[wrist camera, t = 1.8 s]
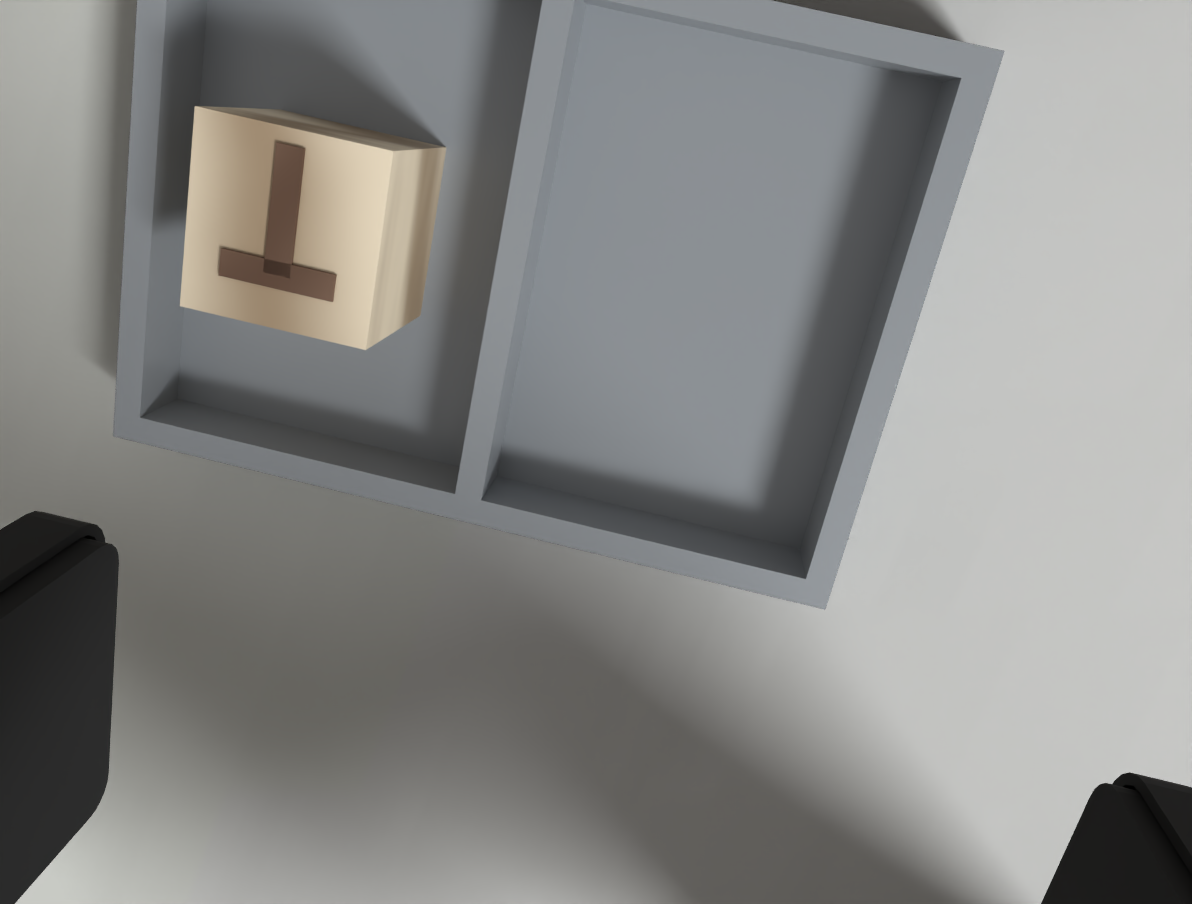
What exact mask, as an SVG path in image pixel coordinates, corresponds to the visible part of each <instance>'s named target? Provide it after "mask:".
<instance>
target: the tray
mask: <svg viewBox="0 0 1192 904" xmlns="http://www.w3.org/2000/svg"><path fill="white" fill-rule="evenodd" d="M1003 54H1004V51H1003V50H998V49H993V48H989V47H984V46H980V45H975V44H970V43H966V42H961V41H957V40H952V39H947V38H943V37H938V36H934V35H929V34H924V33H920V32H915V31H911V30H906V29H901V28H897V27H892V26H888V25H883V24H878V23H874V22H869V21H865V20H860V19H855V18H851V17H846V16H842V15H837V14H832V13H828V12H823V11H819V10H814V9H809V8H805V7H800V6H796V5H791V4H786V3H782V2H777V1H773V0H137V13H136V31H135V49H134V67H133V85H132V104H131V122H130V140H129V158H128V176H127V194H126V213H125V231H124V249H123V267H122V285H121V303H120V321H119V340H118V358H117V376H116V394H115V412H114V430H113V436H114V437H118V438H122V439H126V440H130V441H135V442H139V443H143V444H147V445H151V446H155V447H159V448H163V449H167V450H171V451H176V452H180V453H184V454H188V455H192V456H196V457H200V458H204V459H208V460H213V461H217V462H221V463H225V464H229V465H233V466H237V467H241V468H245V469H250V470H254V471H258V472H262V473H266V474H270V475H274V476H278V477H282V478H286V479H291V480H295V481H299V482H303V483H307V484H311V485H315V486H319V487H323V488H328V489H332V490H336V491H340V492H344V493H348V494H352V495H356V496H360V497H365V498H369V499H373V500H377V501H381V502H385V503H389V504H393V505H397V506H401V507H406V508H410V509H414V510H418V511H422V512H426V513H430V514H434V515H438V516H443V517H447V518H451V519H455V520H459V521H463V522H467V523H471V524H475V525H479V526H484V527H488V528H492V529H496V530H500V531H504V532H508V533H512V534H516V535H521V536H525V537H529V538H533V539H537V540H541V541H545V542H549V543H553V544H558V545H562V546H566V547H570V548H574V549H578V550H582V551H586V552H590V553H594V554H599V555H603V556H607V557H611V558H615V559H619V560H623V561H627V562H631V563H636V564H640V565H644V566H648V567H652V568H656V569H660V570H664V571H668V572H673V573H677V574H681V575H685V576H689V577H693V578H697V579H701V580H705V581H709V582H714V583H718V584H722V585H726V586H730V587H734V588H738V589H742V590H746V591H751V592H755V593H759V594H763V595H767V596H771V597H775V598H779V599H783V600H788V601H792V602H796V603H800V604H804V605H808V606H812V607H816V608H820V609H824V610H825V609H826V606H827V603H828V600H829V596H830V593H831V590H832V587H833V584H834V581H835V578H836V575H837V571H838V568H839V565H840V562H841V559H842V556H843V553H844V550H845V547H846V543H847V540H848V537H849V534H850V531H851V528H852V525H853V522H854V519H855V515H856V512H857V509H858V506H859V503H860V500H861V497H862V494H863V490H864V487H865V484H866V481H867V478H868V475H869V472H870V469H871V466H872V462H873V459H874V456H875V453H876V450H877V447H878V444H879V441H880V438H881V434H882V431H883V428H884V425H885V422H886V419H887V416H888V413H889V409H890V406H891V403H892V400H893V397H894V394H895V391H896V388H897V385H898V381H899V378H900V375H901V372H902V369H903V366H904V363H905V360H906V357H907V353H908V350H909V347H910V344H911V341H912V338H913V335H914V332H915V328H916V325H917V322H918V319H919V316H920V313H921V310H922V307H923V304H924V300H925V297H926V294H927V291H928V288H929V285H930V282H931V279H932V276H933V272H934V269H935V266H936V263H937V260H938V257H939V254H940V251H941V247H942V244H943V241H944V238H945V235H946V232H947V229H948V226H949V223H950V219H951V216H952V213H953V210H954V207H955V204H956V201H957V198H958V194H959V191H960V188H961V185H962V182H963V179H964V176H965V173H966V170H967V166H968V163H969V160H970V157H971V154H972V151H973V148H974V145H975V142H976V138H977V135H978V132H979V129H980V126H981V123H982V120H983V117H984V113H985V110H986V107H987V104H988V101H989V98H990V95H991V92H992V89H993V85H994V82H995V79H996V76H997V73H998V70H999V67H1000V64H1001V61H1002V57H1003ZM195 106H209V107H233V108H258V109H280V110H285V111H289V112H293V113H298V114H302V115H307V116H311V117H315V118H320V119H324V120H329V121H333V122H337V123H342V124H346V125H351V126H355V127H360V128H364V129H368V130H373V131H377V132H382V133H386V134H390V135H395V136H399V137H404V138H408V139H412V140H417V141H421V142H426V143H430V144H434V145H439V146H443V147H446V154H445V160H444V167H443V173H442V180H441V186H440V192H439V199H438V205H437V212H436V218H435V225H434V231H433V238H432V244H431V251H430V257H429V263H428V270H427V276H426V283H425V289H424V296H423V302H422V309H421V315H420V316H419V317H417V318H416V319H414V320H413V321H411V322H410V323H408V324H406V325H405V326H403V327H402V328H400V329H398V330H397V331H395V332H394V333H392V334H391V335H389V336H387V337H386V338H384V339H383V340H381V341H380V342H378V343H376V344H375V345H373V346H372V347H370V348H368V349H367V350H363V349H359V348H355V347H350V346H346V345H342V344H338V343H334V342H329V341H325V340H321V339H317V338H312V337H308V336H304V335H300V334H296V333H291V332H287V331H283V330H279V329H274V328H270V327H266V326H262V325H258V324H253V323H249V322H245V321H241V320H236V319H232V318H228V317H224V316H220V315H215V314H211V313H207V312H203V311H198V310H194V309H190V308H186V307H182V306H180V297H181V283H182V270H183V257H184V243H185V230H186V216H187V203H188V190H189V176H190V163H191V150H192V136H193V123H194V109H195Z"/></svg>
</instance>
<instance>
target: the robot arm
mask: <svg viewBox="0 0 1192 904" xmlns="http://www.w3.org/2000/svg"><path fill="white" fill-rule="evenodd" d="M118 567H119V559H118V552H117V549H116V548H115V547H114V546H113V545H112V544H108V543H105V538H104V535H103V532H102V530H101V529H100V528H99V527H98V526H97V525H95V524H90V523H86V522H82V521H78V520H74V519H70V518H65V517H61V516H57V515H53V514H49V513H45V512H38V511H34V512H31V513H28V514H26V515H24V516H23V517H21V518H19V519H17V520H16V521H14V522H12V523H11V524H9V525H7V526H6V527H4V528H2V529H1V530H0V904H15V903H16V901H17V900H18V899H19V898H20V897H21V896H22V895H23V893H24V892H25V891H26V890H27V889H28V888H29V887H30V885H31V884H32V883H33V882H34V881H35V880H36V879H37V877H38V876H39V875H40V874H41V873H42V872H43V871H44V870H45V868H46V867H47V866H48V865H49V864H50V863H51V862H52V860H53V859H54V858H55V857H56V856H57V855H58V854H59V852H60V851H61V850H62V849H63V848H64V847H65V846H66V844H67V843H68V842H69V841H70V840H71V839H72V838H73V836H74V835H75V834H76V833H77V832H78V831H79V830H80V828H81V827H82V826H83V825H84V824H85V823H86V822H87V820H88V819H89V818H90V817H91V815H92V814H93V813H94V811H95V810H96V808H97V806H98V805H99V803H100V801H101V799H102V796H103V794H104V791H105V788H106V785H107V780H108V773H109V752H110V731H111V711H112V690H113V670H114V649H115V629H116V608H117V588H118ZM1041 904H1192V788H1191V787H1188V786H1184V785H1180V784H1176V783H1172V782H1167V781H1163V780H1159V779H1155V778H1151V777H1147V776H1142V775H1138V774H1134V773H1126V774H1122V775H1121V776H1119V777H1118V778H1117V779H1116V780H1115V781H1114V783H1113V784H1108V783H1104V784H1100V785H1099V786H1098V787H1097V788H1095V789H1094V791H1093V793H1092V794H1091V796H1090V798H1089V800H1088V802H1087V805H1086V807H1085V809H1084V811H1083V813H1082V816H1081V818H1080V820H1079V822H1078V824H1077V826H1076V829H1075V831H1074V833H1073V835H1072V837H1071V840H1070V842H1069V844H1068V846H1067V848H1066V850H1065V853H1064V855H1063V857H1062V859H1061V861H1060V864H1059V866H1058V868H1057V870H1056V872H1055V875H1054V877H1053V879H1052V881H1051V883H1050V885H1049V888H1048V890H1047V892H1046V894H1045V896H1044V899H1043V901H1042V903H1041Z"/></svg>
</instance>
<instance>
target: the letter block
mask: <svg viewBox="0 0 1192 904" xmlns="http://www.w3.org/2000/svg"><path fill="white" fill-rule="evenodd" d="M445 154H446V147H443V146H439V145H434V144H430V143H426V142H421V141H417V140H412V139H408V138H404V137H399V136H395V135H390V134H386V133H382V132H377V131H373V130H368V129H364V128H360V127H355V126H351V125H346V124H342V123H337V122H333V121H329V120H324V119H320V118H315V117H311V116H307V115H302V114H298V113H293V112H289V111H285V110H280V109H258V108H233V107H209V106H195V109H194V123H193V136H192V150H191V163H190V176H189V190H188V203H187V216H186V230H185V243H184V257H183V270H182V283H181V297H180V306H182V307H186V308H190V309H194V310H198V311H203V312H207V313H211V314H215V315H220V316H224V317H228V318H232V319H236V320H241V321H245V322H249V323H253V324H258V325H262V326H266V327H270V328H274V329H279V330H283V331H287V332H291V333H296V334H300V335H304V336H308V337H312V338H317V339H321V340H325V341H329V342H334V343H338V344H342V345H346V346H350V347H355V348H359V349H363V350H367V349H368V348H370V347H372V346H373V345H375V344H376V343H378V342H380V341H381V340H383V339H384V338H386V337H387V336H389V335H391V334H392V333H394V332H395V331H397V330H398V329H400V328H402V327H403V326H405V325H406V324H408V323H410V322H411V321H413V320H414V319H416V318H417V317H419V316H420V315H421V309H422V302H423V296H424V289H425V283H426V276H427V270H428V263H429V257H430V251H431V244H432V238H433V231H434V225H435V218H436V212H437V205H438V199H439V192H440V186H441V180H442V173H443V167H444V160H445Z"/></svg>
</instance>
